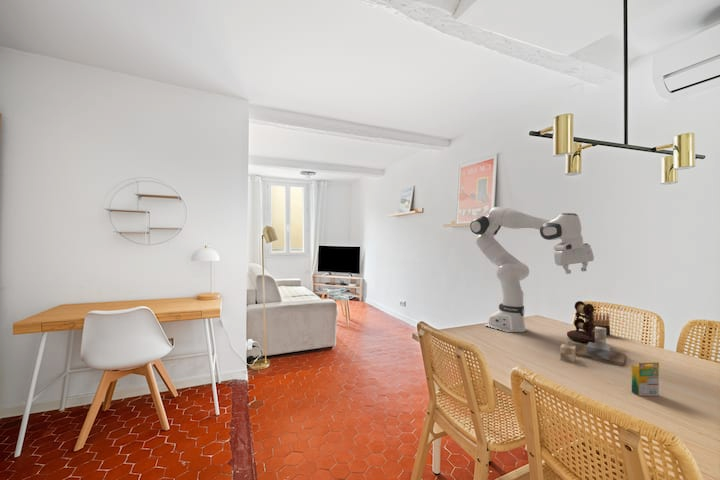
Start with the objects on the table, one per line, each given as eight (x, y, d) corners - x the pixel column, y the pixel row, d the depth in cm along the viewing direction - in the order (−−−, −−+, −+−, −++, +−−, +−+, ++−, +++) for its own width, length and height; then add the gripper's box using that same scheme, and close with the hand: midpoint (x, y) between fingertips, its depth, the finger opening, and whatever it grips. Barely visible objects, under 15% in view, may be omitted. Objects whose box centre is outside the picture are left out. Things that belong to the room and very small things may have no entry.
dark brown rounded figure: (608, 345, 158) (609, 305, 158) (578, 344, 158) (579, 305, 158) (587, 335, 173) (588, 299, 172) (560, 335, 173) (561, 299, 173)
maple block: (560, 360, 139) (560, 346, 139) (562, 356, 143) (562, 343, 142) (573, 363, 136) (574, 349, 135) (575, 359, 139) (575, 346, 139)
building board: (563, 352, 147) (563, 329, 147) (568, 344, 159) (568, 322, 159) (624, 365, 133) (624, 339, 132) (625, 355, 145) (625, 331, 144)
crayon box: (650, 391, 111) (651, 359, 110) (659, 396, 108) (659, 362, 107) (630, 392, 110) (631, 359, 110) (638, 396, 107) (639, 362, 107)
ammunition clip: (588, 333, 176) (588, 312, 176) (586, 332, 178) (587, 311, 178) (610, 335, 174) (610, 313, 173) (608, 334, 175) (608, 313, 175)
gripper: (583, 242, 161) (587, 269, 161) (550, 247, 157) (554, 274, 157) (595, 242, 155) (599, 270, 155) (561, 247, 151) (564, 275, 151)
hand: (576, 272), depth 156 cm, fingers open, 8 cm apart
